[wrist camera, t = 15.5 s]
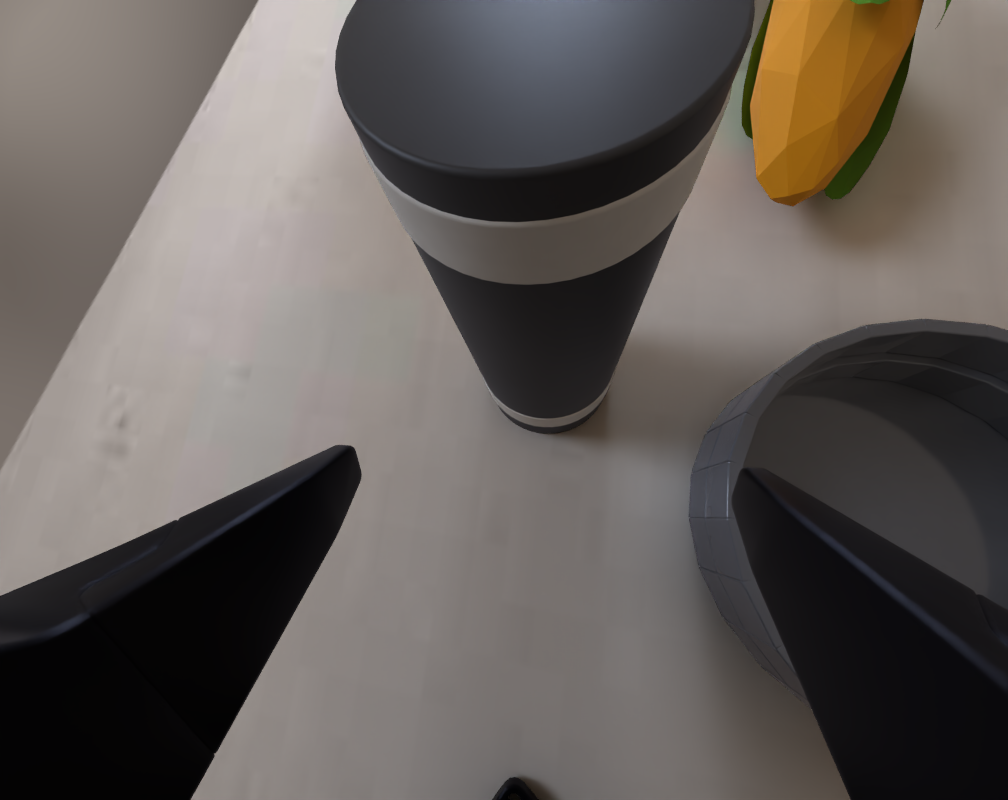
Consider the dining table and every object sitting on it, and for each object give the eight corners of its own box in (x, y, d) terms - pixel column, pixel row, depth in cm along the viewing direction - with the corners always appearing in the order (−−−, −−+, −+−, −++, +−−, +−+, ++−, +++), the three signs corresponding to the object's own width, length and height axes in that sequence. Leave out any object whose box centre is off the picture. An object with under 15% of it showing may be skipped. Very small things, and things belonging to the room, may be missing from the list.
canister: (615, 430, 17) (824, 135, 4) (492, 438, 18) (305, 209, 4) (600, 320, 19) (709, -149, 6) (489, 331, 19) (347, -66, 6)
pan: (993, 865, 12) (1205, 1034, 8) (617, 545, 16) (637, 554, 12) (1171, 511, 14) (1409, 509, 10) (797, 308, 18) (864, 252, 14)
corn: (1058, -249, 15) (1029, 106, 11) (906, -1, 22) (849, 275, 18) (843, -216, 17) (743, 89, 13) (767, 0, 24) (685, 246, 20)
